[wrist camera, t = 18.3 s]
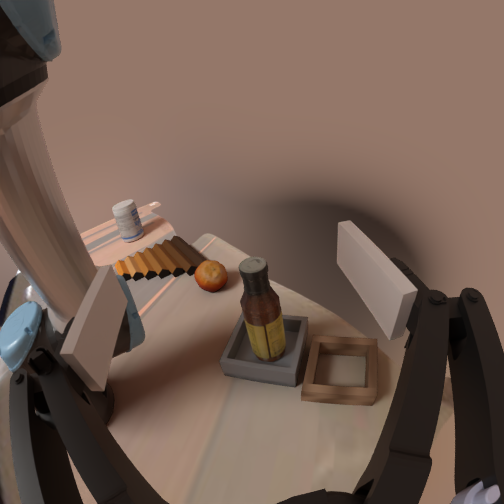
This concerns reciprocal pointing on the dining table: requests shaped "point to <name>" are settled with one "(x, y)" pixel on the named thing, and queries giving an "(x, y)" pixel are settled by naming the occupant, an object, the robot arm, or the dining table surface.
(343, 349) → the walnut holder
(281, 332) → the sauce bottle
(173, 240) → the brown ridged flat piece
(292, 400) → the dining table surface
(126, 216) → the supplement tub
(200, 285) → the fruit
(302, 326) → the grey square tray
